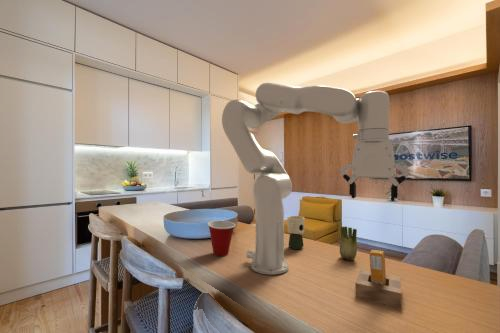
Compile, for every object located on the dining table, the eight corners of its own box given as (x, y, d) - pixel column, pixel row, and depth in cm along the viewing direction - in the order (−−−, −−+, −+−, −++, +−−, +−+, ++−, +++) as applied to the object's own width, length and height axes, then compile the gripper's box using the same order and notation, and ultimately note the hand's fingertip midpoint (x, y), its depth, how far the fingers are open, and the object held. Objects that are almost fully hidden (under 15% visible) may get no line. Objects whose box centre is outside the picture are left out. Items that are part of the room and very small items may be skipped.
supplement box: (371, 285, 66) (371, 248, 66) (386, 289, 64) (385, 251, 64) (369, 290, 63) (369, 251, 64) (384, 293, 61) (384, 254, 62)
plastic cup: (221, 261, 86) (222, 227, 86) (201, 254, 92) (201, 223, 93) (240, 253, 94) (241, 222, 95) (221, 247, 101) (221, 219, 101)
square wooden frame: (355, 298, 62) (355, 282, 62) (360, 283, 70) (360, 269, 70) (401, 310, 56) (401, 293, 57) (400, 292, 65) (400, 277, 65)
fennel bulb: (358, 261, 87) (358, 228, 87) (347, 262, 85) (347, 228, 86) (347, 255, 92) (347, 224, 93) (337, 257, 91) (337, 225, 91)
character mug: (299, 253, 95) (300, 220, 95) (283, 250, 99) (283, 218, 99) (307, 246, 104) (308, 216, 105) (292, 243, 108) (292, 214, 108)
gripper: (337, 137, 68) (336, 197, 67) (411, 133, 58) (410, 203, 58) (343, 140, 74) (342, 195, 74) (410, 137, 65) (409, 200, 64)
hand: (372, 199), depth 66 cm, fingers open, 9 cm apart
